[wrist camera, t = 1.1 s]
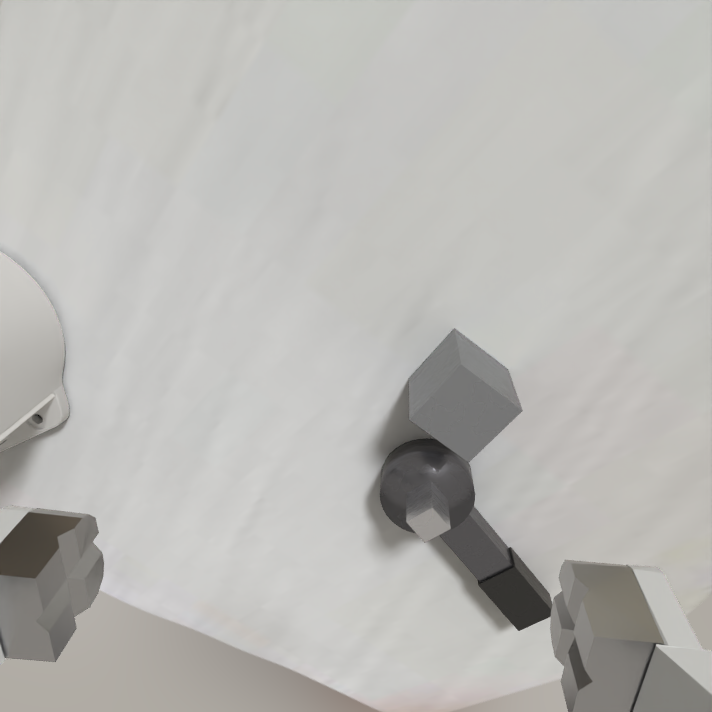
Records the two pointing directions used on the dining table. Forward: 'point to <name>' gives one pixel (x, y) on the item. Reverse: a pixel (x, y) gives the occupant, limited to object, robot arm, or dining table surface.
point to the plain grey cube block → (462, 396)
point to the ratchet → (459, 525)
